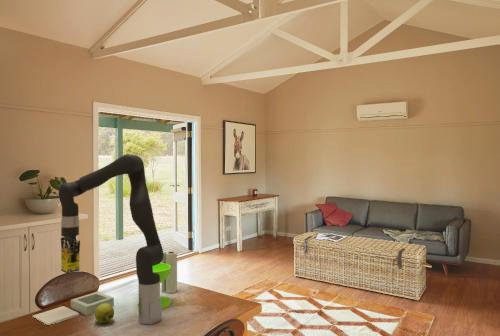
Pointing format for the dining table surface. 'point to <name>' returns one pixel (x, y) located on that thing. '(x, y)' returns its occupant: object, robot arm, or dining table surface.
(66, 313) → the mat
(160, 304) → the robot arm
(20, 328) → the dining table surface
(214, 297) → the dining table surface
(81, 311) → the frame
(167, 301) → the wineglass
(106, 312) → the apple
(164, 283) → the paper towel roll
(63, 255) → the supplement box
